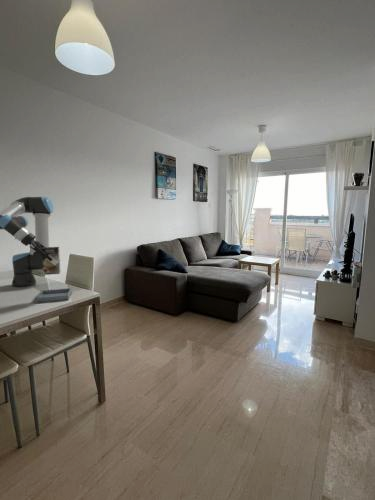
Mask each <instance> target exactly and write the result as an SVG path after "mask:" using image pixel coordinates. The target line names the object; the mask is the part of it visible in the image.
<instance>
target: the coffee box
mask: <svg viewBox="0 0 375 500" xmlns="http://www.w3.org/2000/svg"><path fill="white" fill-rule="evenodd" d="M42 250H43V251H45V252H46V253H47V254H48V256H49V255H50V256H52V257H53V258H54V259H55V260H57V261H58V263H57V264H56V265H54V264H52V263H51V262H50V261H48V260H47V259H46V258H45V259H43V257H42V262H43V270H42V275H43V276H47V275H60V274H61V258H60V255H61V254H60V247H59V246H49V247H43V248H42Z"/></svg>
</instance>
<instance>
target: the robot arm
mask: <svg viewBox="0 0 375 500" xmlns="http://www.w3.org/2000/svg"><path fill="white" fill-rule="evenodd" d="M29 213H30V214H32V216H33V217H34V228H35V229H34V234H33V233H32V232H30V230H28V229H27V227H28V224H29V220H28V218H26V217H25V216H23V215H24V214H29ZM52 213H54V204H53V202H52V200H51V199H50V197H47V196H25V197H21V198H17V199H16V200H13V201H12V202H11V203H10V205H9V206H8V207H7V206H6V208H4V209H3V210H1V211H0V230H4V231H6V232H7V233H8V234H10V235H11V236H13V237H14V240H17V241H18V242H20V243H21V244H22V245H24V246H25V247H26V246H28V247H29V248H30V249H32V250H33V254H32V253H31V252H30V251H29V252H22V253H17V254H14V255H12V268H13V278H12V282H11V286H12V287H13V288H18V287H19V288H21V287H22V288H23V287H30V286H33V285H35V284H37V280H36V277H35V275H34V273H33V271H43V262H42V257H43V259H45V258H46V259H47V260H48V261H50V262H51V263H52V264H54V265H56V264H57V263H58V261H57V260H55V259H54V258H53V257H52V256H50V255H49V256H48V254H47V253H46V252H45V251H43V250H42V248H43V247H50V240H49V239H50V238H49V236H50V235H49V234H50V233H49V217H50V216H51V214H52ZM22 214H23V215H22Z"/></svg>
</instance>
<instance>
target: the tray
mask: <svg viewBox="0 0 375 500" xmlns="http://www.w3.org/2000/svg"><path fill="white" fill-rule="evenodd" d="M72 294H73V288H72V287H68V288H67V287H66V288H57V289H46V290H44V289H43V290H40V291H39V293H38V294H37V295H36V296H35V297H34V298H33V299H34V304H41V303H49V302H50V303H51V302H60V301H61V302H62V301H64V302H65V301H69V300H70V299H71V297H72Z"/></svg>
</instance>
